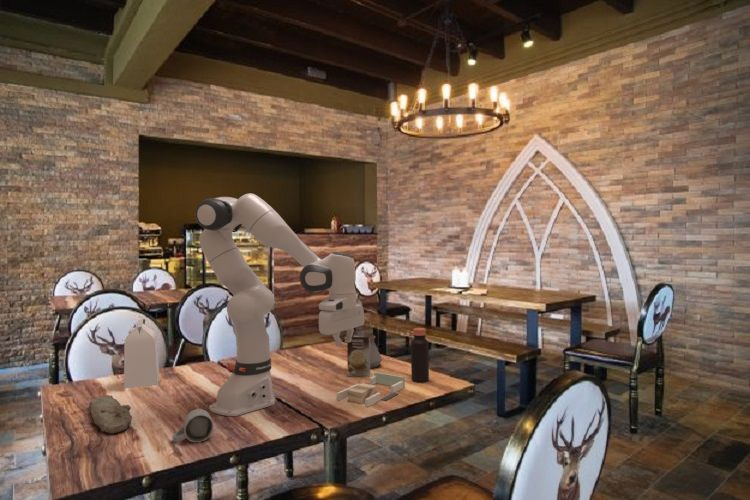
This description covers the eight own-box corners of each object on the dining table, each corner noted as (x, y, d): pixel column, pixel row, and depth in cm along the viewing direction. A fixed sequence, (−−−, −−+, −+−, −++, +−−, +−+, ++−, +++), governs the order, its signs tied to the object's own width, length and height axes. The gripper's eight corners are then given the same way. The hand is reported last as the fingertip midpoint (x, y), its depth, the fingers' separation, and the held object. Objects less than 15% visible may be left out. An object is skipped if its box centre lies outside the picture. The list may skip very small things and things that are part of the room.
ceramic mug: (211, 429, 141) (209, 403, 141) (214, 439, 134) (212, 412, 134) (172, 436, 137) (170, 410, 137) (173, 448, 129) (171, 420, 129)
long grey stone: (116, 403, 170) (84, 412, 163) (115, 389, 169) (82, 396, 163) (139, 428, 142) (101, 439, 136) (137, 410, 142) (99, 421, 136)
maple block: (362, 404, 161) (361, 393, 160) (347, 401, 164) (347, 390, 164) (376, 397, 168) (376, 385, 168) (362, 394, 171) (362, 383, 171)
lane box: (367, 407, 157) (367, 395, 157) (336, 400, 165) (336, 388, 165) (404, 387, 177) (404, 376, 177) (375, 382, 185) (375, 371, 184)
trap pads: (385, 401, 163) (385, 400, 163) (346, 392, 172) (346, 391, 172) (403, 391, 173) (403, 390, 173) (365, 383, 182) (365, 383, 182)
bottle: (430, 378, 188) (429, 327, 188) (427, 383, 182) (426, 331, 181) (413, 377, 190) (412, 327, 190) (409, 382, 184) (409, 330, 183)
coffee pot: (387, 366, 206) (386, 332, 206) (364, 371, 200) (364, 335, 199) (360, 356, 224) (359, 325, 223) (339, 360, 217) (338, 328, 217)
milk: (157, 387, 183) (155, 319, 182) (124, 391, 178) (121, 322, 178) (159, 378, 194) (157, 315, 193) (127, 382, 190) (125, 317, 189)
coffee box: (346, 376, 192) (346, 337, 192) (349, 372, 199) (348, 333, 198) (369, 376, 192) (368, 337, 191) (371, 372, 198) (370, 333, 197)
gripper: (353, 297, 167) (354, 336, 168) (315, 305, 150) (315, 348, 151) (368, 298, 164) (369, 338, 164) (330, 306, 147) (331, 351, 147)
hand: (343, 343), depth 157 cm, fingers open, 4 cm apart
